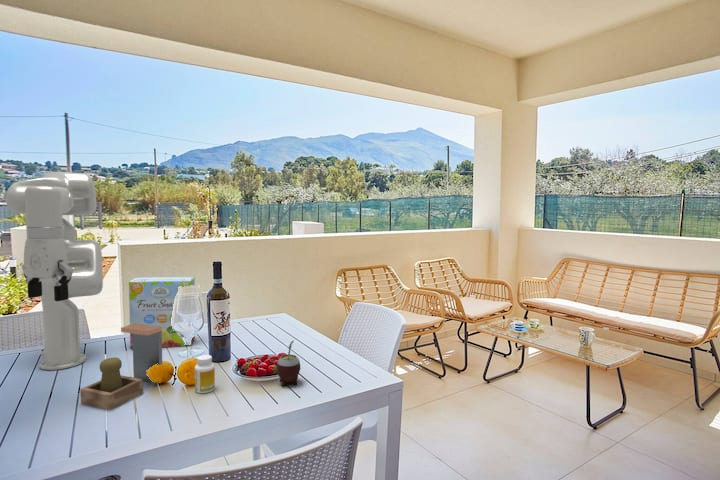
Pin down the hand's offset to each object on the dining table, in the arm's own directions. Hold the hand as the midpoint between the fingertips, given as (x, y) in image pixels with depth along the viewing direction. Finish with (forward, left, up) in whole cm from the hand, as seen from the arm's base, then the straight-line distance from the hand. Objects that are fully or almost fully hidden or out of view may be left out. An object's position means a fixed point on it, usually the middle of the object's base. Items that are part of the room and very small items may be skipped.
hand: (48, 298), depth 106 cm
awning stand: (+13, +17, -28) cm, 36 cm away
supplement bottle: (+33, +20, -28) cm, 48 cm away
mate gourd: (+54, +32, -28) cm, 69 cm away
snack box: (-7, +46, -28) cm, 55 cm away
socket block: (+13, +7, -28) cm, 32 cm away
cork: (+12, +7, -28) cm, 32 cm away
